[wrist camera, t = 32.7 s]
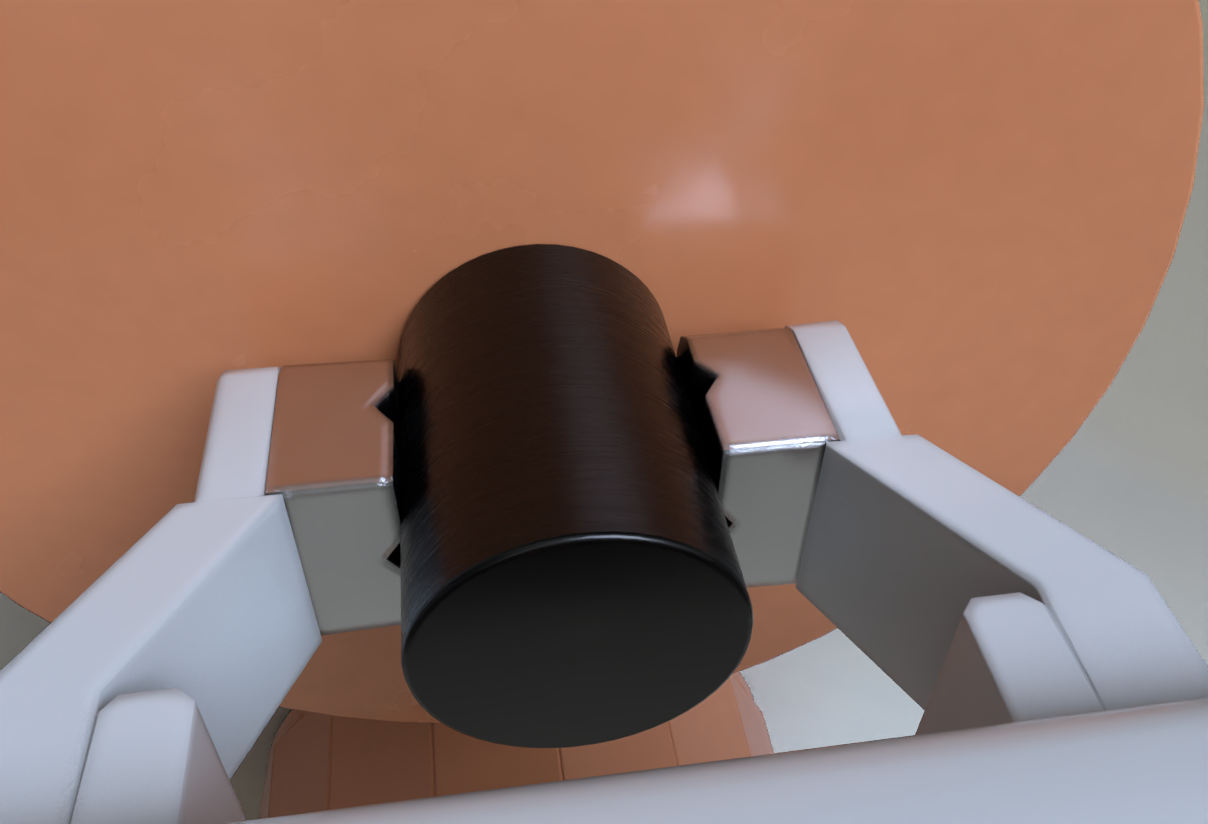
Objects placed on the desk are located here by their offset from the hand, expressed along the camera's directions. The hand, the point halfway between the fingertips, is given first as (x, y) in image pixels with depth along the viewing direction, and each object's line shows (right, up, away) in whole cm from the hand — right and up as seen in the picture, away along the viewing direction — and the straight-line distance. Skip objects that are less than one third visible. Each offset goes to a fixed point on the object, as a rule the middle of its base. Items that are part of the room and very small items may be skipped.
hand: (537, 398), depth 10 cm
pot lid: (0, +1, +1) cm, 1 cm away
